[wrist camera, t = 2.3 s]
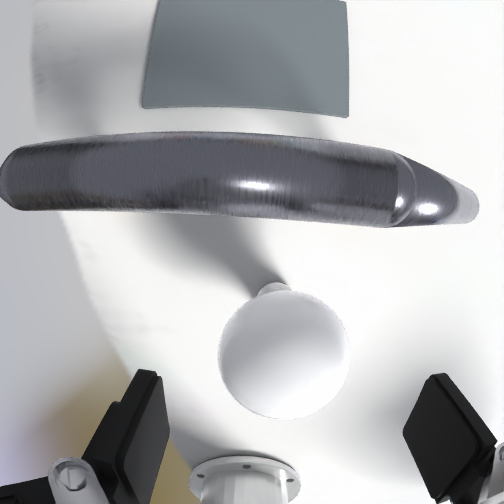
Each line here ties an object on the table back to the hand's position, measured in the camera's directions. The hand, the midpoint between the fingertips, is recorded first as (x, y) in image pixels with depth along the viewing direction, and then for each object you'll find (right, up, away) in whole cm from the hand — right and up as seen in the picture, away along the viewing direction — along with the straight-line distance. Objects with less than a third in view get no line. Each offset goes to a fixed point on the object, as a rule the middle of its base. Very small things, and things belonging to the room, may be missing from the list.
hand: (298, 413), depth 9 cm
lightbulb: (0, +2, +13) cm, 13 cm away
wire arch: (-2, +10, +11) cm, 15 cm away
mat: (-2, +20, +9) cm, 22 cm away
